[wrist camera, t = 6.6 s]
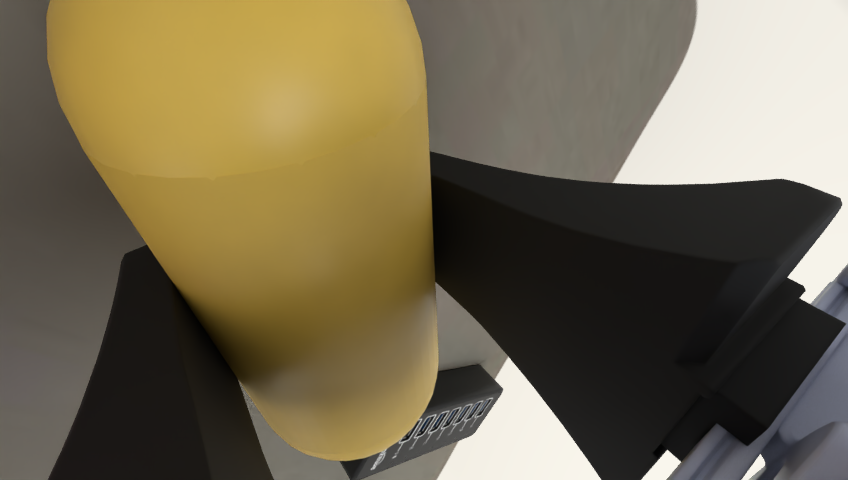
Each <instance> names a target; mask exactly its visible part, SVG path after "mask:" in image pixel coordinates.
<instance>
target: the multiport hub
mask: <svg viewBox="0 0 848 480" xmlns="http://www.w3.org/2000/svg"><path fill="white" fill-rule="evenodd" d="M502 391H503V388H502V387H501V386H500V385H499V384H498V383H497V382H496V381H495V380H494V379H493V378H492V377H491V376H490V375H489V374H488V373H487V372H486V370H485V369H484V368H483V367H482V366H481V365H476V366H470V367H464V368H459V369H453V370H448V371H442V372H437V379H436V383H435V387H434V391H433V395H432V397H431V399H430V401H429V403H428V405H427V407H426V409H425V411H424V413H423V414H422V416H421V417H420V418H419V420H418V421H417V422H416V424H415V425H414V426H413V428H412V429H411V430H410V431H409V432H408V433H407V434H406V435H405V436H404V437H402V438H401V439H400V440H399V441H398V442H397V443H395V444H393V445H392V446H390V447H388V448H387V449H385V450H384V451H382V452H379V453H377V454H374V455H371V456H369V457H366V458H362V459H356V460H350V461H340V462H341V464H342V466H343V468H344V469H345V471H346V473H347V475H348V476H349V478H350V480H360V479H363V478H365V477H368V476H371V475H373V474H376V473H378V472H381V471H383V470H386V469H388V468H391V467H393V466H396V465H398V464H401V463H403V462H406V461H409V460H411V459H414V458H416V457H419V456H421V455H424V454H426V453H429V452H431V451H434V450H436V449H439V448H442V447H444V446H447V445H449V444H452V443H454V442H457V441H459V440H462V439H464V438H467V437H469V436H471V435H473V434H474V433H475V432H476V430H477V429H478V427H479V426H480V424H481V423H482V421H483V420H484V419H485V417H486V416H487V414H488V413H489V411H490V410H491V408H492V407H493V405H494V404H495V402H496V401H497V400H498V398H499V397H500V395H501V393H502Z"/></svg>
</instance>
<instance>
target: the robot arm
mask: <svg viewBox="0 0 848 480" xmlns="http://www.w3.org/2000/svg"><path fill="white" fill-rule="evenodd" d="M429 153H430V175H431V198H432V221H433V244H434V266H435V282H436V283H437V284H438V285H440V286H441V287H442V288H443V289H444V290H445V291H446V292H447V293H448V294H449V295H450V296H451V297H453V298H454V299H455V300H456V301H457V302H458V303H459V304H460V305H461V306H462V307H463V308H464V309H466V310H467V311H468V312H469V313H470V314H471V315H472V316H473V317H474V318H475V319H476V320H477V321H478V322H479V323H480V324H481V325H482V326H483V328H484V329H485V330H486V331H487V332H488V333H489V334H490V336H491V337H492V338H493V339H494V340H495V341H496V343H497V344H498V345H499V346H500V347H501V348H502V349H503V351H504V352H505V353H506V354H507V355H508V356H509V358H510V359H511V360H512V361H513V363H514V364H515V365H516V366H517V367H518V369H519V370H520V371H521V372H522V373H523V375H524V376H525V377H526V378H527V380H528V381H529V382H530V383H531V384H532V386H533V387H534V388H535V389H536V391H537V392H538V393H539V395H540V396H541V397H542V399H543V400H544V401H545V402H546V404H547V405H548V406H549V408H550V409H551V410H552V412H553V413H554V414H555V415H556V417H557V418H558V419H559V421H560V422H561V423H562V424H563V426H564V427H565V429H566V430H567V432H568V433H569V434H570V436H571V437H572V438H573V440H574V441H575V443H576V444H577V445H578V447H579V448H580V450H581V451H582V452H583V454H584V455H585V457H586V458H587V459H588V461H589V462H590V463H591V465H592V467H593V468H594V469H595V471H596V472H597V474H598V475H599V477H600V478H601V480H641V479H642V478H643V477H644V475H646V473H647V472H648V471H649V470H650V469H651V468H652V466H653V465H654V464H655V463H656V462H657V461H658V460H659V459H660V457H661V456H662V455H663V454H664V453H665V451H666V450H669V451H670V452H671V453H672V454H673V455H674V456H675V457H677V458H678V459H679V460H680V461H681V463H680V464H679V465H678V467H677V468H676V469H675V470H674V471H673V473H672V474H671V475H670V476H669V477H668V479H667V480H741V479H742V478H743V477H744V475H745V474H746V473H747V471H748V470H749V468H750V467H751V466H752V464H753V463H754V462H755V460H756V459H757V457H758V456H759V455H760V454H761V455H762V457H763V458H764V460H765V466H764V467H763V468H762V469H761V470H760V471H758V472H757V473H756V474H755V475H754V476H752V477H751V478H750V479H749V480H848V265H846V267H845V268H844V269H843V270H842V272H841V273H840V274H839V275H838V276H837V277H836V278H835V280H834V281H833V282H830V283H829V284H828V285H827V286H826V287H825V288H824V290H823V291H822V292H821V293H820V294H819V295H818V296H817V297H816V298H815V299H814V301H813V302H812V303H811V304H808V303H807V302H805V301H803V300H801V299H799V298H800V297H801V295H802V294H803V293H804V292H805V288H804V286H803V285H800V284H798V283H797V282H795V281H793V280H791V279H789V278H787V277H788V276H789V274H790V273H791V272H792V271H793V269H794V268H795V267H796V266H797V264H798V263H799V262H800V260H801V259H802V258H803V257H804V256H805V254H806V253H807V252H808V251H809V249H810V248H811V247H812V246H813V244H814V243H815V242H816V240H817V239H818V238H819V237H820V235H821V234H822V233H823V232H824V230H825V229H826V228H827V226H828V225H829V224H830V222H831V221H832V220H833V218H834V217H835V216H836V214H837V213H838V211H839V209H840V208H841V206H842V202H841V199H840V198H839V197H836V196H833V195H831V194H828V193H825V192H823V191H820V190H818V189H815V188H812V187H810V186H807V185H804V184H801V183H797V182H794V181H790V180H784V179H772V180H759V181H744V182H731V183H718V184H717V183H716V184H687V185H686V184H683V185H640V184H619V183H618V184H617V183H601V182H588V181H578V180H570V179H561V178H553V177H546V176H539V175H533V174H527V173H522V172H517V171H512V170H506V169H501V168H497V167H492V166H488V165H483V164H479V163H475V162H471V161H466V160H462V159H458V158H454V157H450V156H446V155H442V154H438V153H434V152H430V151H429ZM48 480H274V479H273V476H272V474H271V472H270V469H269V467H268V464H267V462H266V459H265V457H264V454H263V452H262V449H261V446H260V443H259V440H258V437H257V434H256V431H255V428H254V425H253V423H252V420H251V417H250V414H249V411H248V408H247V405H246V402H245V399H244V396H243V393H242V390H241V387H240V384H239V381H238V378H237V377H236V375H235V374H234V372H233V371H232V369H231V368H230V366H229V365H228V363H227V362H226V360H225V359H224V358H223V356H222V355H221V353H220V352H219V350H218V349H217V347H216V346H215V344H214V343H213V341H212V340H211V338H210V337H209V335H208V334H207V332H206V331H205V329H204V328H203V326H202V325H201V323H200V322H199V320H198V319H197V317H196V316H195V315H194V313H193V312H192V310H191V309H190V307H189V306H188V304H187V303H186V301H185V300H184V298H183V297H182V295H181V294H180V292H179V291H178V289H177V288H176V286H175V285H174V283H173V282H172V280H171V279H170V278H169V276H168V275H167V273H166V272H165V270H164V269H163V267H162V266H161V264H160V263H159V261H158V260H157V259H156V257H155V256H154V254H153V253H152V251H151V250H150V248H149V247H148V245H145V246H143V247H140V248H138V249H136V250H133V251H131V252H128V253H126V254H125V255H124V257H123V259H122V261H121V266H120V272H119V277H118V283H117V287H116V292H115V296H114V301H113V305H112V309H111V313H110V317H109V320H108V324H107V327H106V331H105V334H104V338H103V341H102V345H101V348H100V351H99V355H98V358H97V361H96V364H95V366H94V369H93V372H92V375H91V377H90V380H89V383H88V386H87V389H86V391H85V394H84V397H83V400H82V402H81V405H80V408H79V410H78V413H77V415H76V418H75V420H74V423H73V425H72V427H71V430H70V432H69V435H68V437H67V439H66V441H65V444H64V446H63V448H62V451H61V453H60V455H59V457H58V459H57V461H56V463H55V465H54V468H53V470H52V472H51V474H50V476H49V478H48Z"/></svg>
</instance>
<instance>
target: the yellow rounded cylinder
mask: <svg viewBox="0 0 848 480" xmlns="http://www.w3.org/2000/svg"><path fill="white" fill-rule="evenodd" d="M46 18H47V61H48V64H49V68H50V72H51V76H52V79H53V83H54V87H55V90H56V94H57V98H58V102H59V104H60V106H61V108H62V110H63V112H64V114H65V116H66V117H67V119H68V121H69V123H70V125H71V127H72V129H73V131H74V133H75V134H76V136H77V138H78V140H79V142H80V144H81V147H82V149H83V150H84V152H85V153H86V155H87V156H88V158H89V159H90V161H91V162H92V164H93V165H94V167H95V168H96V170H97V171H98V173H99V174H100V176H101V177H102V178H103V180H104V181H105V183H106V184H107V186H108V187H109V189H110V190H111V192H112V193H113V195H114V196H115V198H116V199H117V201H118V202H119V204H120V205H121V207H122V208H123V210H124V211H125V213H126V214H127V216H128V217H129V219H130V220H131V221H132V223H133V224H134V226H135V227H136V229H137V230H138V232H139V233H140V235H141V236H142V238H143V239H144V241H145V242H146V244H147V245H148V247H149V248H150V250H151V251H152V253H153V254H154V256H155V257H156V259H157V260H158V261H159V263H160V264H161V266H162V267H163V269H164V270H165V272H166V273H167V275H168V276H169V278H170V279H171V280H172V282H173V283H174V285H175V286H176V288H177V289H178V291H179V292H180V294H181V295H182V297H183V298H184V300H185V301H186V303H187V304H188V306H189V307H190V309H191V310H192V312H193V313H194V315H195V316H196V317H197V319H198V320H199V322H200V323H201V325H202V326H203V328H204V329H205V331H206V332H207V334H208V335H209V337H210V338H211V340H212V341H213V343H214V344H215V346H216V347H217V349H218V350H219V352H220V353H221V355H222V356H223V358H224V359H225V360H226V362H227V363H228V365H229V366H230V368H231V369H232V371H233V372H234V374H235V375H236V377H237V378H238V380H239V382H240V383H241V385H242V386H243V387H244V389H245V390H246V392H247V393H248V395H249V396H250V398H251V399H252V401H253V402H254V404H255V405H256V407H257V408H258V410H259V411H260V413H261V414H262V416H263V417H264V419H265V420H266V422H267V423H268V424H269V426H270V427H271V428H272V429H273V430H274V431H275V433H277V434H278V435H279V436H280V437H281V438H282V439H284V440H285V441H286V442H287V443H288V444H289V445H290V446H291V447H293V448H295V449H297V450H299V451H301V452H303V453H304V454H306V455H310V456H314V457H318V458H322V459H326V460H334V461H350V460H356V459H362V458H366V457H369V456H371V455H374V454H377V453H379V452H382V451H384V450H385V449H387V448H388V447H390V446H392V445H393V444H395V443H397V442H398V441H399V440H400V439H401V438H402V437H404V436H405V435H406V434H407V433H408V432H409V431H410V430H411V429H412V428H413V426H414V425H415V424H416V422H417V421H418V420H419V418H420V417H421V416H422V414H423V413H424V411H425V409H426V407H427V405H428V403H429V401H430V399H431V397H432V395H433V391H434V387H435V383H436V379H437V372H438V360H439V357H438V334H437V312H436V289H435V266H434V244H433V221H432V198H431V175H430V153H429V130H428V107H427V84H426V71H425V64H424V57H423V51H422V44H421V40H420V37H419V34H418V31H417V28H416V25H415V22H414V19H413V16H412V14H411V11H410V8H409V5H408V3H407V1H406V0H50V3H49V7H48V11H47V15H46Z"/></svg>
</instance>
